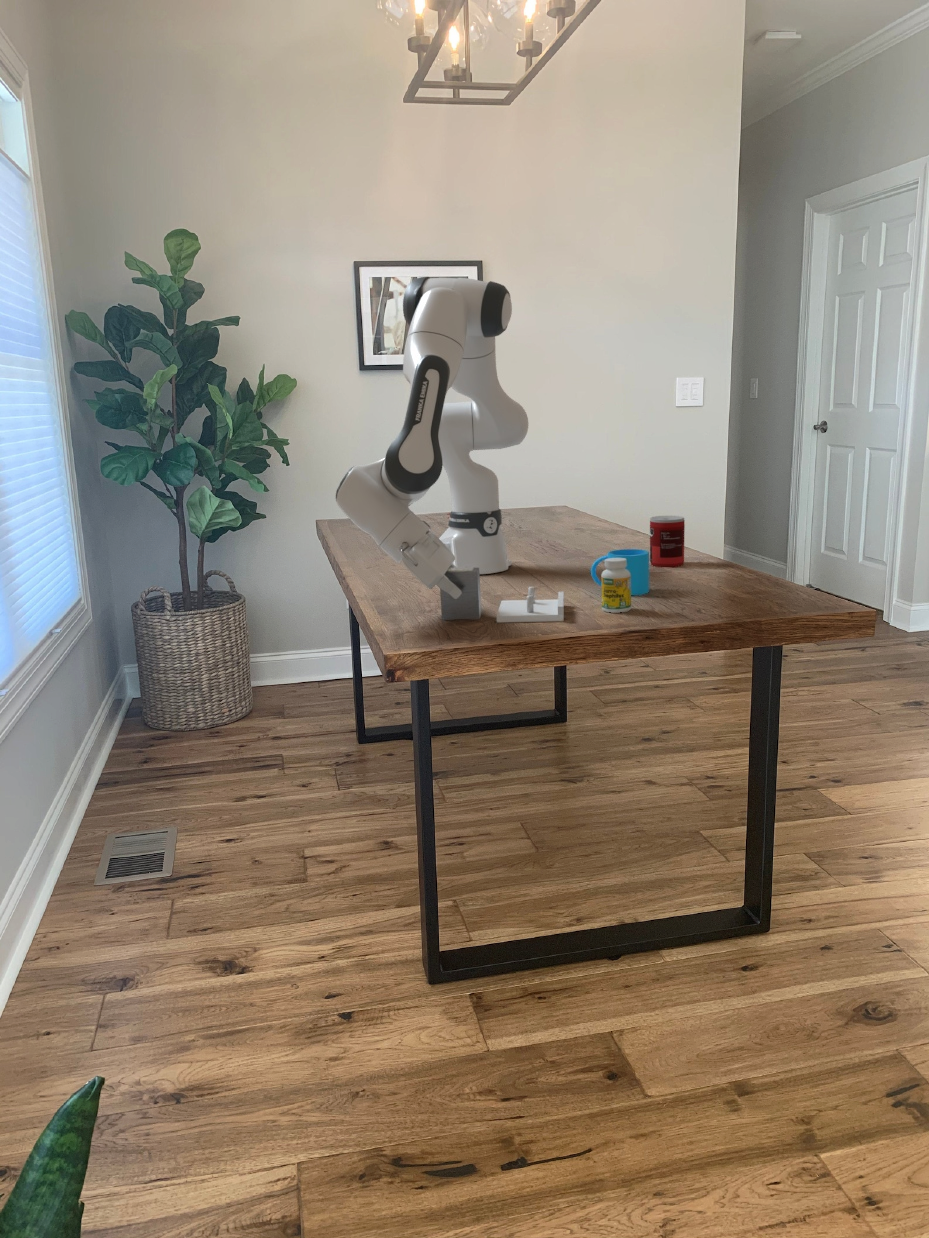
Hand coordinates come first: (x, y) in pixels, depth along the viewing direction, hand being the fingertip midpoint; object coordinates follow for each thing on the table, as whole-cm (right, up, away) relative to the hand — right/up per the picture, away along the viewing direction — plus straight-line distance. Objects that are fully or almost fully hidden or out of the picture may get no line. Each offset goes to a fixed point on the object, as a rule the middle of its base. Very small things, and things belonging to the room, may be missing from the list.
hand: (462, 590), depth 171 cm
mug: (+32, 0, +17) cm, 36 cm away
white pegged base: (+13, -4, +1) cm, 14 cm away
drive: (0, -5, +1) cm, 5 cm away
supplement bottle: (+29, -4, +1) cm, 29 cm away
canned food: (+47, +7, +44) cm, 65 cm away
